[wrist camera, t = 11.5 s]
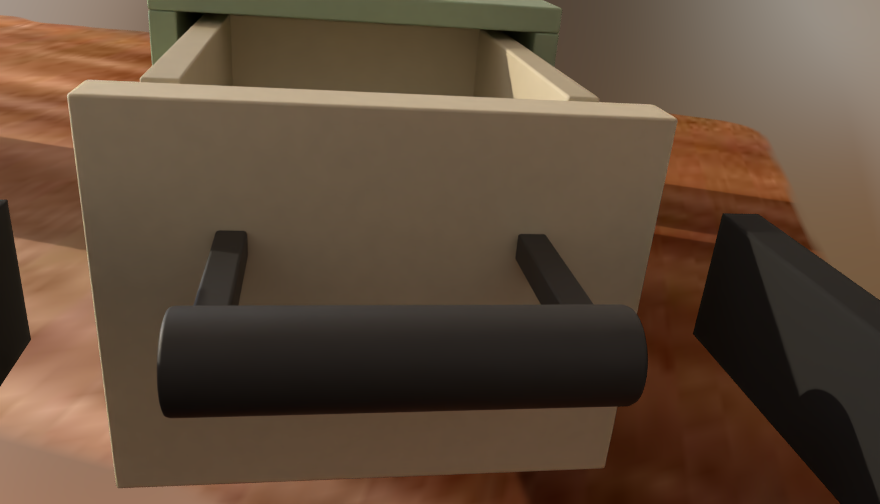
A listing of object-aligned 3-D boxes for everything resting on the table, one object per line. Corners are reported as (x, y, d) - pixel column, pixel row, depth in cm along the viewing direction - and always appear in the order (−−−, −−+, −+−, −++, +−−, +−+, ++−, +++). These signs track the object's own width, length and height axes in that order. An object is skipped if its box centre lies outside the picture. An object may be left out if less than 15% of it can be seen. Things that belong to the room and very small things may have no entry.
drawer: (697, 649, 14) (834, 210, 10) (42, 705, 12) (-66, 193, 9) (491, 245, 31) (516, 22, 27) (200, 242, 29) (186, 1, 25)
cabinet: (522, 303, 28) (563, 8, 24) (170, 303, 26) (145, -19, 22) (456, 176, 41) (475, -30, 37) (218, 170, 39) (209, -49, 35)
